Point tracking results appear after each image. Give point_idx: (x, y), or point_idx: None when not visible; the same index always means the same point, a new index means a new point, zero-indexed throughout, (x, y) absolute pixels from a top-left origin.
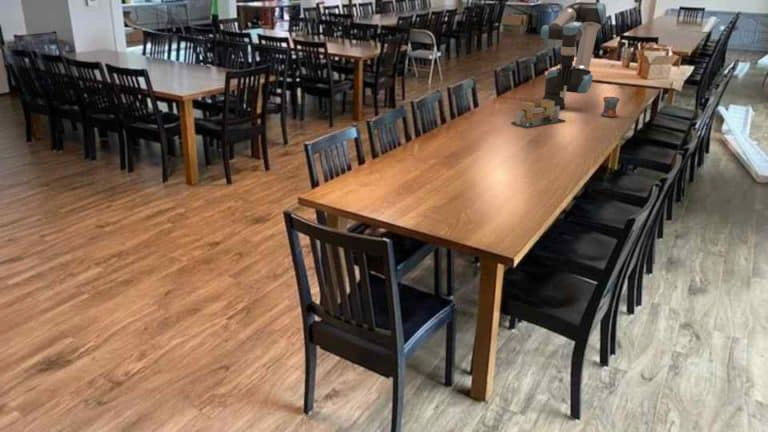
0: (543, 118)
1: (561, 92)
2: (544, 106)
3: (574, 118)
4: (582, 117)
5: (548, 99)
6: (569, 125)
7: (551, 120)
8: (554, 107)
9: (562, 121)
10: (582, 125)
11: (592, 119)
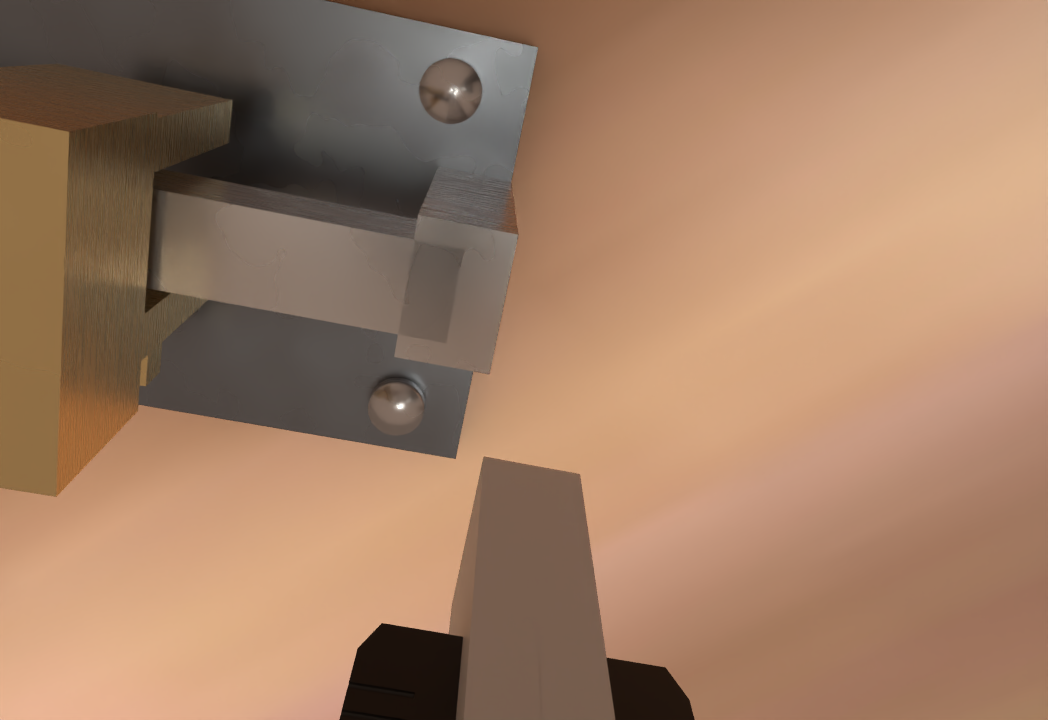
0: (212, 90)
1: (466, 601)
2: None
3: (826, 406)
4: (997, 455)
5: (58, 225)
6: (296, 603)
7: (209, 302)
8: (318, 311)
9: (372, 438)
10: None
11: (960, 623)
